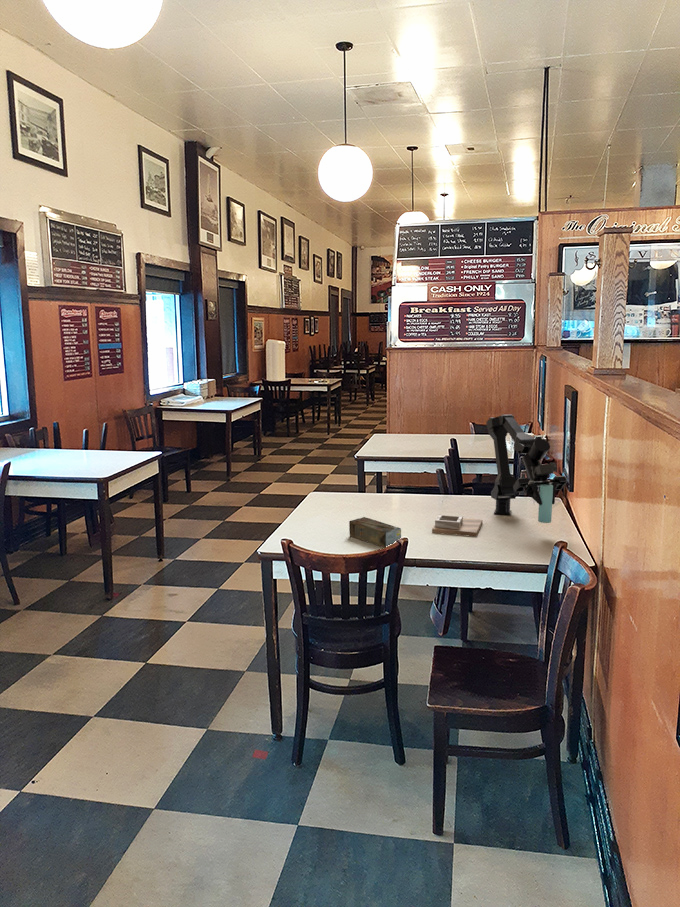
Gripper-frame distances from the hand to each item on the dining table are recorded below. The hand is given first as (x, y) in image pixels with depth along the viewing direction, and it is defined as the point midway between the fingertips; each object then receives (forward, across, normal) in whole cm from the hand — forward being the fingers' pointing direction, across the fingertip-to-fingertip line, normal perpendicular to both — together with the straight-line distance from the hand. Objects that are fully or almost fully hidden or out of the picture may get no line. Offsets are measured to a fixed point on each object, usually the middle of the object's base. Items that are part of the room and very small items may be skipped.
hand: (547, 504), depth 246 cm
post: (+4, 0, +6) cm, 7 cm away
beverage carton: (+2, -60, +17) cm, 62 cm away
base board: (-4, -26, +22) cm, 34 cm away
